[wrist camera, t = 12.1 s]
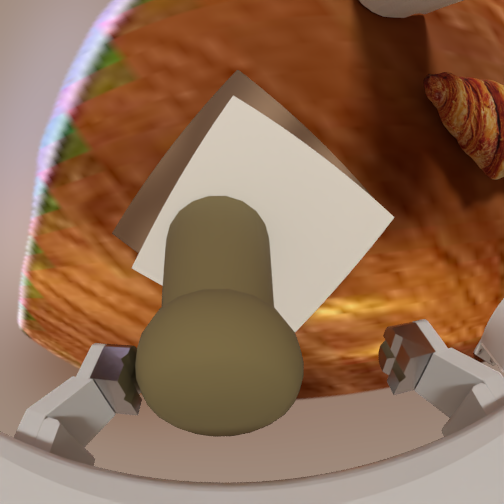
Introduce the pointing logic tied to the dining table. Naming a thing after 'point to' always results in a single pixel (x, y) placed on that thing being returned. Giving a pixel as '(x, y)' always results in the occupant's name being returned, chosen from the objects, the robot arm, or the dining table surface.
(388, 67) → the dining table surface
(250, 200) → the tower top block
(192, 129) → the tower base block
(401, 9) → the paper towel roll
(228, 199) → the olive green pawn
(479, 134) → the croissant
